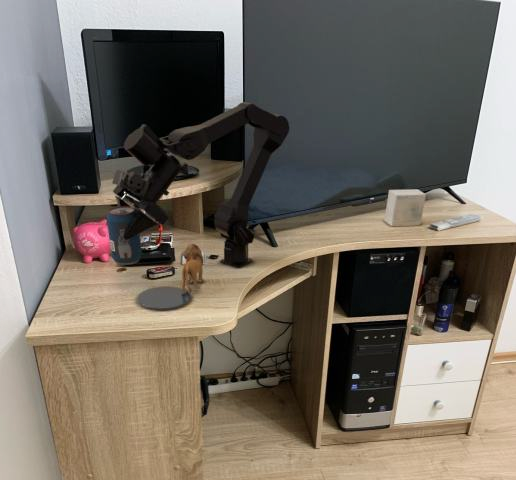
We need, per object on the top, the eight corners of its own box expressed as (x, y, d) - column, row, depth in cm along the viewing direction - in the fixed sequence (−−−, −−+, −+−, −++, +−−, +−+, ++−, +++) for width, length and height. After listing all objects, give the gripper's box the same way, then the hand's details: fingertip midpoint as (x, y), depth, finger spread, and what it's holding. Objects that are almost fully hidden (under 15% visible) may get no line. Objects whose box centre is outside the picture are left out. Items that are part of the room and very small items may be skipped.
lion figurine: (183, 277, 137) (181, 242, 134) (204, 276, 138) (203, 241, 134) (180, 295, 124) (178, 257, 120) (203, 295, 124) (202, 257, 121)
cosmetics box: (391, 226, 176) (396, 194, 171) (383, 221, 182) (388, 189, 177) (421, 225, 178) (426, 193, 173) (412, 219, 184) (417, 188, 179)
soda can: (133, 252, 132) (127, 203, 126) (147, 261, 127) (142, 210, 121) (106, 259, 128) (100, 209, 122) (121, 268, 123) (114, 216, 117)
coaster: (164, 284, 132) (164, 282, 132) (201, 297, 126) (200, 295, 126) (126, 300, 124) (126, 298, 124) (163, 315, 118) (163, 313, 117)
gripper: (116, 148, 124) (76, 203, 124) (150, 163, 111) (106, 224, 111) (150, 179, 132) (113, 230, 132) (187, 196, 119) (145, 253, 119)
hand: (118, 234), depth 124 cm, fingers closed on soda can, 7 cm apart
